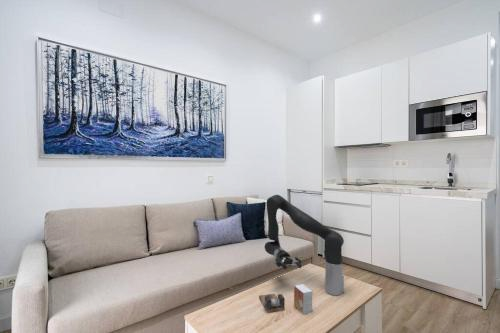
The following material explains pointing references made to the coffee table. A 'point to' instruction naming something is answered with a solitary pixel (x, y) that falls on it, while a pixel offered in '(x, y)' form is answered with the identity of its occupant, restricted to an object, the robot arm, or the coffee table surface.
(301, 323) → the coffee table surface
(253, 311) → the coffee table surface
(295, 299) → the small box
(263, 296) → the stand
